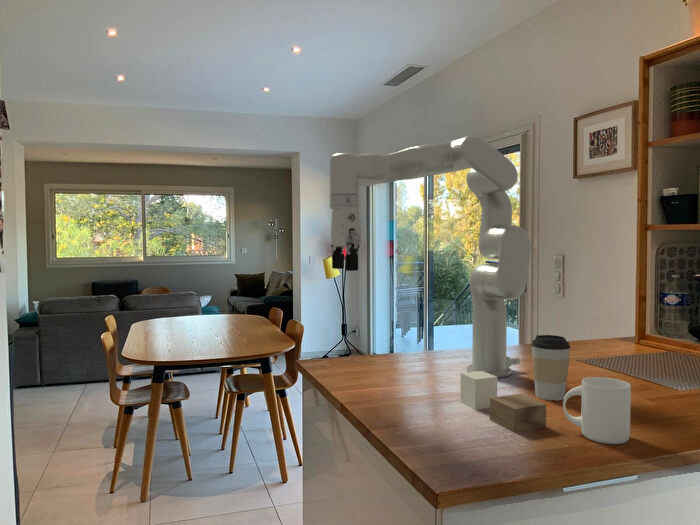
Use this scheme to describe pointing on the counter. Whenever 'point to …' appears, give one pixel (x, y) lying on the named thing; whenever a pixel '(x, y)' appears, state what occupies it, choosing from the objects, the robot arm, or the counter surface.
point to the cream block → (478, 389)
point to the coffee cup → (550, 366)
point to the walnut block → (517, 412)
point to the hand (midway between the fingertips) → (344, 269)
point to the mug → (603, 409)
